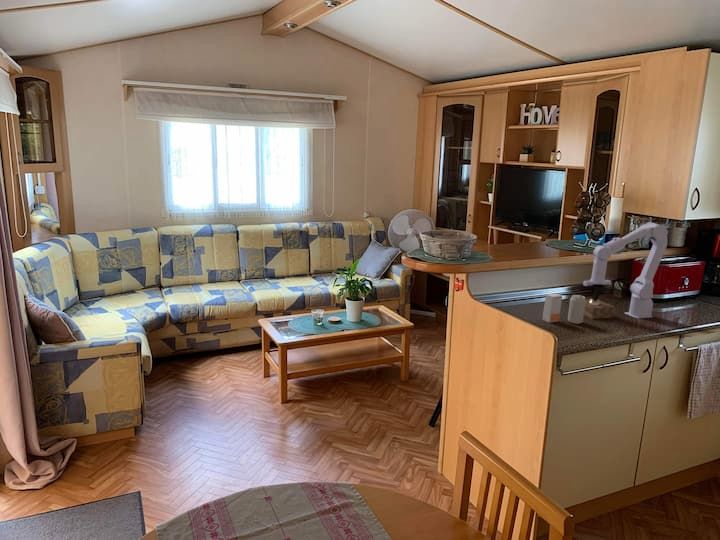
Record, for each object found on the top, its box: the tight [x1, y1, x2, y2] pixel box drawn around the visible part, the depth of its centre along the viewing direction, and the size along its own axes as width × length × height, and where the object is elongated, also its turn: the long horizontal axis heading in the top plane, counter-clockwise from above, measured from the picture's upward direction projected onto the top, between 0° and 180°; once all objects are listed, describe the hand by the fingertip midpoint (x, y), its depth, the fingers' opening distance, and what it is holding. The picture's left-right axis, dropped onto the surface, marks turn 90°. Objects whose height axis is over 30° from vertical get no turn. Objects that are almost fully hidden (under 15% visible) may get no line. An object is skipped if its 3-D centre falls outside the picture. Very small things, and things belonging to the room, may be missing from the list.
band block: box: [584, 298, 616, 320], centre depth 260 cm, size 13×13×5 cm
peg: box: [589, 298, 601, 305], centre depth 260 cm, size 4×4×4 cm
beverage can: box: [567, 294, 587, 325], centre depth 245 cm, size 6×6×12 cm
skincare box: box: [541, 293, 563, 323], centre depth 245 cm, size 6×4×12 cm
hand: (594, 299), depth 259 cm, fingers closed, pressing on peg
